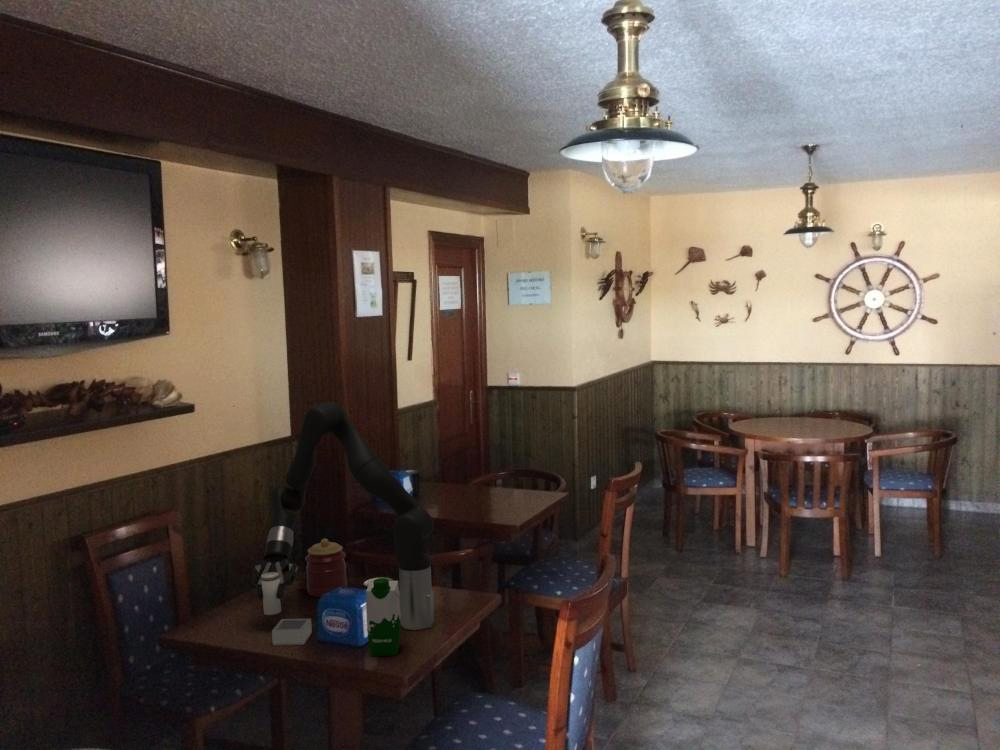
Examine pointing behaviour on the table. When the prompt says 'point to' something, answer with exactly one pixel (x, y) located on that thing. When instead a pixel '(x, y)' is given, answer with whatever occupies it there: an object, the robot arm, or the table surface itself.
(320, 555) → the canister
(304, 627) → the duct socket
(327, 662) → the table surface
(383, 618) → the milk carton
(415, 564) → the robot arm
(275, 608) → the white cylinder
